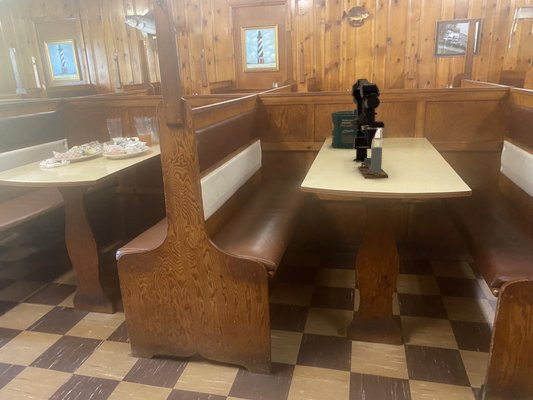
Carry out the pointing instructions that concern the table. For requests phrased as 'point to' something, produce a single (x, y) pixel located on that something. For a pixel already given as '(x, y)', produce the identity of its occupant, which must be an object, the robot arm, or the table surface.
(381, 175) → the hole plate
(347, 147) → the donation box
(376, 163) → the block
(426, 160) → the table surface
